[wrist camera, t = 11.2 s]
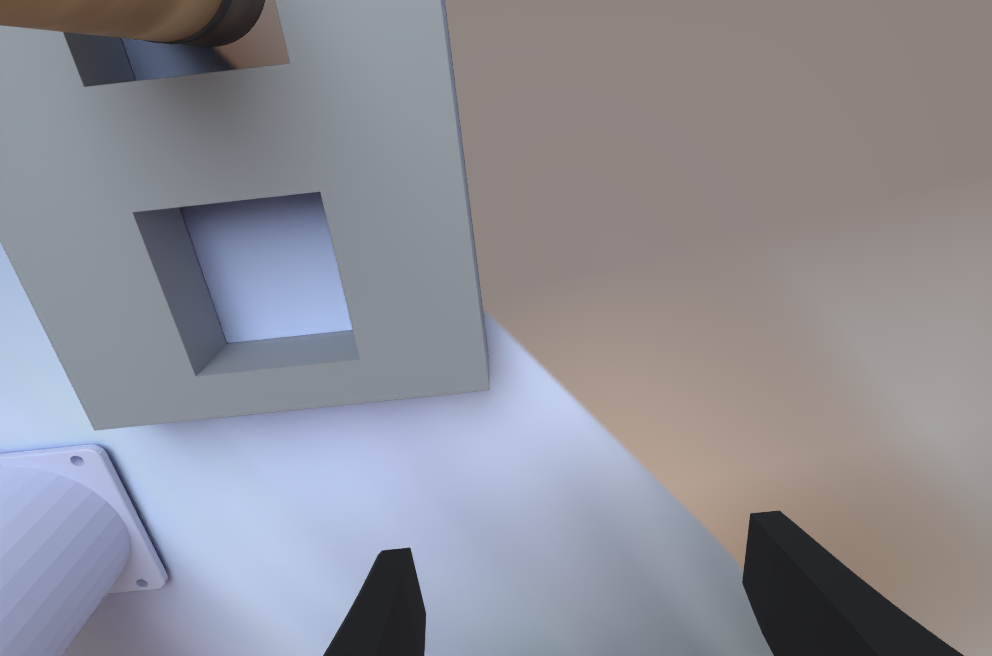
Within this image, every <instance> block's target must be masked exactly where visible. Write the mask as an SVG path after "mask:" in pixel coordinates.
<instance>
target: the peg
mask: <svg viewBox="0 0 992 656" xmlns="http://www.w3.org/2000/svg"><path fill="white" fill-rule="evenodd" d="M264 3H265V0H0V25H1V26H11V27H20V28H30V29H40V30H50V31H59V32H69V33H79V34H89V35H98V36H108V37H118V38H128V39H137V40H144V41H149V42H154V43H165V44H186V45H196V46H207V47H215V46H223V45H227V44H230V43H232V42H235V41H237V40H238V39H240V38H241V37H243V36H244V35H245V34H247V33H248V32H249V31H250V30H251V28H252V27H253V26H254V25H255V23H256V21H257V20H258V18H259V16H260V14H261V12H262V10H263V6H264Z"/></svg>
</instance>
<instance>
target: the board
mask: <svg viewBox="0 0 992 656" xmlns="http://www.w3.org/2000/svg"><path fill="white" fill-rule="evenodd" d="M275 2H276V6H277V11H278V15H279V20H280V23H281V28H282V32H283V36H284V41H285V45H286V49H287V53H288V57H289V61H290V63H288V64H281V65H272V66H262V67H254V68H245V69H236V70H227V71H219V72H210V73H201V74H193V75H184V76H175V77H166V78H158V79H149V80H140V81H135V78H134V75H133V72H132V70H131V67H130V64H129V61H128V58H127V55H126V52H125V49H124V46H123V44H122V41H121V38H118V37H108V36H98V35H89V34H79V33H69V32H59V31H50V30H40V29H30V28H20V27H11V26H1V25H0V242H1V244H2V246H3V248H4V250H5V252H6V254H7V256H8V258H9V260H10V262H11V264H12V266H13V268H14V270H15V272H16V274H17V276H18V278H19V280H20V282H21V284H22V286H23V288H24V290H25V292H26V294H27V296H28V298H29V300H30V302H31V304H32V306H33V308H34V310H35V312H36V314H37V316H38V318H39V320H40V322H41V324H42V326H43V328H44V330H45V332H46V334H47V336H48V338H49V340H50V342H51V344H52V346H53V348H54V350H55V352H56V354H57V356H58V358H59V360H60V362H61V364H62V366H63V368H64V370H65V372H66V374H67V376H68V378H69V380H70V382H71V384H72V386H73V388H74V390H75V392H76V394H77V396H78V398H79V401H80V403H81V405H82V407H83V409H84V411H85V413H86V415H87V417H88V419H89V421H90V423H91V425H92V427H93V429H94V430H104V429H114V428H123V427H133V426H143V425H153V424H162V423H172V422H182V421H192V420H201V419H211V418H221V417H231V416H241V415H250V414H260V413H270V412H280V411H289V410H299V409H309V408H319V407H328V406H338V405H348V404H358V403H367V402H377V401H387V400H397V399H407V398H416V397H426V396H436V395H446V394H455V393H465V392H475V391H485V390H490V388H489V356H488V348H487V340H486V332H485V323H484V315H483V307H482V299H481V291H480V283H479V275H478V266H477V259H476V251H475V242H474V234H473V226H472V218H471V210H470V201H469V194H468V185H467V177H466V169H465V161H464V153H463V145H462V137H461V129H460V120H459V112H458V104H457V96H456V88H455V79H454V72H453V63H452V55H451V47H450V39H449V31H448V23H447V14H446V6H445V0H275ZM312 192H320V193H321V197H322V202H323V206H324V210H325V214H326V219H327V223H328V227H329V231H330V236H331V240H332V244H333V248H334V253H335V257H336V261H337V265H338V269H339V274H340V278H341V282H342V286H343V291H344V295H345V299H346V303H347V308H348V312H349V316H350V320H351V325H352V329H353V330H351V331H342V332H332V333H323V334H313V335H303V336H294V337H284V338H275V339H265V340H256V341H246V342H237V343H226V340H225V337H224V334H223V331H222V328H221V326H220V323H219V320H218V317H217V314H216V311H215V308H214V305H213V303H212V300H211V297H210V294H209V291H208V288H207V285H206V282H205V280H204V277H203V274H202V271H201V268H200V265H199V262H198V259H197V256H196V254H195V251H194V248H193V245H192V242H191V239H190V236H189V233H188V231H187V228H186V225H185V222H184V219H183V216H182V213H181V210H180V208H179V207H185V206H194V205H203V204H213V203H222V202H231V201H240V200H249V199H258V198H267V197H276V196H285V195H294V194H303V193H312Z"/></svg>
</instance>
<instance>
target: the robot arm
mask: <svg viewBox="0 0 992 656" xmlns="http://www.w3.org/2000/svg"><path fill="white" fill-rule="evenodd" d="M78 456H79V457H81V458H82V459H83V460H82V459H80V458H79V457H78ZM167 579H168V575H167V573H166V571H165V569H164V567H163V565H162V563H161V561H160V559H159V557H158V555H157V553H156V551H155V549H154V547H153V545H152V543H151V541H150V539H149V537H148V535H147V533H146V531H145V529H144V527H143V525H142V523H141V521H140V519H139V517H138V515H137V513H136V511H135V509H134V507H133V505H132V503H131V501H130V499H129V497H128V495H127V493H126V491H125V489H124V487H123V485H122V483H121V481H120V479H119V477H118V475H117V473H116V471H115V469H114V467H113V465H112V463H111V461H110V459H109V457H108V455H107V453H106V451H105V450H104V449H103V448H101V447H100V446H97V445H80V446H70V447H60V448H50V449H41V450H31V451H21V452H11V453H1V454H0V656H62V655H63V654H64V652H65V651H66V650H67V648H68V647H69V645H70V644H71V643H72V641H73V640H74V638H75V637H76V636H77V634H78V633H79V631H80V630H81V629H82V627H83V626H84V624H85V623H86V622H87V620H88V619H89V618H90V616H91V615H92V613H93V612H94V611H95V609H96V608H97V606H98V605H99V604H100V602H101V601H102V599H103V598H104V597H105V595H106V594H111V593H122V592H132V591H143V590H153V589H159V588H162V587H163V586H164V585H165V583H166V581H167ZM742 583H743V586H744V588H745V591H746V594H747V596H748V599H749V601H750V604H751V607H752V609H753V612H754V614H755V616H756V619H757V621H758V624H759V626H760V629H761V631H762V633H763V635H764V637H765V639H766V641H767V643H768V645H769V647H770V649H771V651H772V653H773V655H774V656H964V655H962V654H961V653H959V652H958V651H957V650H955V649H954V648H952V647H951V646H949V645H948V644H946V643H945V642H944V641H942V640H941V639H939V638H938V637H937V636H935V635H934V634H933V633H931V632H930V631H928V630H927V629H926V628H924V627H923V626H922V625H920V624H919V623H918V622H916V621H915V620H913V619H912V618H911V617H909V616H908V615H907V614H905V613H904V612H903V611H901V610H900V609H899V608H898V607H896V606H895V605H894V604H892V603H891V602H890V601H889V600H887V599H886V598H885V597H883V596H882V595H881V594H880V593H878V592H877V591H876V590H875V589H873V588H872V587H871V586H870V585H868V584H867V583H866V582H865V581H863V580H862V579H861V578H859V577H858V576H857V575H856V574H855V573H853V572H852V571H851V570H850V569H849V568H847V567H846V566H845V565H844V564H843V563H841V562H840V561H839V560H838V559H836V558H835V557H834V556H833V555H832V554H831V553H829V552H828V551H827V550H826V549H825V548H823V547H822V546H821V545H820V544H819V543H817V542H816V541H815V540H814V539H813V538H812V537H810V536H809V535H808V534H807V533H806V532H804V531H803V530H802V529H801V528H800V527H799V526H797V525H796V524H795V523H794V522H793V521H791V520H790V519H789V518H788V517H787V516H785V515H784V514H783V513H782V512H781V511H771V512H761V513H751V514H750V521H749V529H748V539H747V547H746V555H745V564H744V573H743V581H742ZM425 626H426V612H425V607H424V603H423V599H422V595H421V591H420V586H419V582H418V578H417V574H416V570H415V565H414V561H413V557H412V553H411V548H403V549H393V550H383V551H381V552H380V553H379V554H378V556H377V558H376V560H375V562H374V564H373V566H372V568H371V570H370V572H369V574H368V576H367V578H366V580H365V582H364V584H363V586H362V588H361V590H360V592H359V594H358V596H357V597H356V599H355V601H354V603H353V605H352V607H351V609H350V610H349V612H348V614H347V616H346V617H345V619H344V621H343V623H342V624H341V626H340V628H339V630H338V631H337V633H336V635H335V637H334V638H333V640H332V642H331V643H330V645H329V647H328V649H327V650H326V652H325V653H324V655H323V656H424V650H425Z"/></svg>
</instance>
